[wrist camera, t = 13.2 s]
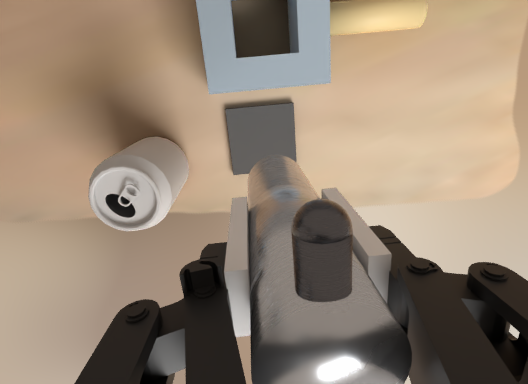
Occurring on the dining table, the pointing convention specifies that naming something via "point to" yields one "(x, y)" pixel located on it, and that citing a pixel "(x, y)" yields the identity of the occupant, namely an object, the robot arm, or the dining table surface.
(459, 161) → the dining table surface
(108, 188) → the can
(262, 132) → the mat
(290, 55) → the block
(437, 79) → the dining table surface
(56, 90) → the dining table surface
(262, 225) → the silver tall rounded piece
